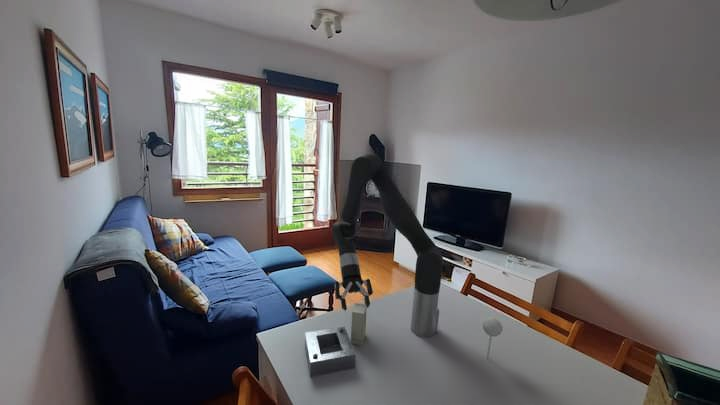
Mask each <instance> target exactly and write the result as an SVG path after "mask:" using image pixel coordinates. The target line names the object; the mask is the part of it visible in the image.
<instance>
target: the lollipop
mask: <svg viewBox="0 0 720 405" xmlns="http://www.w3.org/2000/svg"><path fill="white" fill-rule="evenodd" d="M481 324H482V330H484V332H485V334H487V335H488V336H489V340H488V341H489V342H488V346H487V354H486V360H488V359H489V354H490V347H491V342H492V337H498V336H500V335H501V334H502V333H503V331H504V330H503V329H504V327H503V325H502V323H501V321H500V320H499V319H497V318H496V317H492V316H489V317H486V318H485V319H483V321H482V323H481Z"/></svg>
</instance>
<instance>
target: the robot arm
mask: <svg viewBox="0 0 720 405" xmlns="http://www.w3.org/2000/svg"><path fill="white" fill-rule="evenodd" d="M349 174H350V175H349V182H348V187H347V192H346V197H345V201H344V202H343V206H342V210H341V212H340V219H341V220H342V221H336V222H334V223H333V224H332V226H331V234H332V237H333V239H334V242H335V244H336V246H337V249H338V255H339V268H340V274H341V281H342V282H341V281H340V282H339V281H336V282H335V283H334V297H335V300H339V301H340V305H341V309H342V310H343V311H344V312H346V311H347V310H348V309H347V301H346V296H347V294H352V293H359V294H360V295H362V296H363V297H364V298H363V301H364V305H367V309H369V307H370V305H371V302H370V296H371V295H373V294H374V291H373V286H372V284H371V280H370V278H367V279H364V280H363V278H362V274H361V268H360V262H359V258H358V255H357V254H358V253H357V250H356V244H355V242H353V241H351V240H352V239H353V238H355V237H356V235H357V222H358V218H359V214H360V212H361V209H362V204H363V191H364V188H365V186H366V184H367V182H368V180H369V179H370V180H371V182H372V183H373V184H374V186H375V187H376V190H377V191H378V194H379V198H380V203H381V206H382V207H381V208H382V210H383V213H384V214H385V216H386V217H387V219H388V221H389V222H390V224H392V227H394V229H396V231H398V233H400V235H402V236H403V237H404V238H405V239H407V241H408V242H409V244H410V245H411V247H412V249H413V250H414V252H415V253H416V256H417V257H416V261H415V272H414V287H413V288H414V289H413V298H412V308H411V310H412V311H411V320H410V330H411V331H412V333H413V334H415V335H416V336H418V337H422V338H429V337H432V336H434V335H435V333H438V326H439V317H440V309H439V296H440V289H441V282H442V275H443V264H444V258H443V254H442V251H441V250H440V248H439V247H438V246H437V245H436V244H435V242H434V241H433V240H432V239H431V238H430V236H429V235H428V234H427V233H426V230H424V228H423V227H422V224H421V223H420V220H419V219H418V217H417V216H416V214H415V213H414V211H413V209H412V208H411V206H410V204H409V203H408V202H407V200H406V199H405V197H404V196H403V195H402V193H401V192H400V190H399V189H398V186H396V184H395V183H394V181H393V180H392V178H391V176H390V174H389V171H388V170H387V168H386V166H385V164H384V163H383V160H382V159H381V157H379V155H378V154H376V153H374V152H366V153H363V154H360V155H358V156H356V157H355V158H354V159H353V160H352V163H351V166H350V173H349ZM349 239H351V240H349ZM363 284H364V286H365V287H366V288H365V287H364V286H363ZM341 287H342V288H343V289H344V291H343V293H342V294H341V293H340V289H341Z"/></svg>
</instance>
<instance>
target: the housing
mask: <svg viewBox="0 0 720 405" xmlns="http://www.w3.org/2000/svg"><path fill="white" fill-rule="evenodd" d="M349 336H350V335H349V334H348V332H347V329H346V327H345V326H341V327H333V328H328V329H327V328H326V329H319V330H313V331H312V330H311V331H306V332H304V349H305V354H306V360H307V366H308V372H309V377H310V378H313V377H318V376H323V375H327V374H333V373H337V372H343V371H348V370H352V369H356V355H357V353H356V351H355V348H354V347H353V343H351V338H350V337H349ZM333 346H336V349H337V351H333V352H327V353H321V351H320V349H322V348H327V347H328V348H329V347H333Z"/></svg>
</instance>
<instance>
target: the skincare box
mask: <svg viewBox="0 0 720 405" xmlns="http://www.w3.org/2000/svg"><path fill="white" fill-rule="evenodd" d="M367 309H368V308H367V305H365V303H358V302H356V303H355V304H354V306H353V309H352V311H351V330H350V331H351V332H350V341H351V344H355V345H360V346H361V345H362V346H363V344H364V340H365V338H366V327H367Z"/></svg>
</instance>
